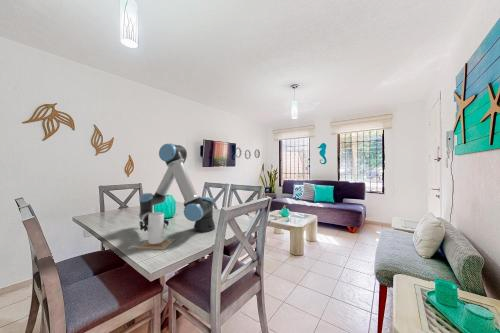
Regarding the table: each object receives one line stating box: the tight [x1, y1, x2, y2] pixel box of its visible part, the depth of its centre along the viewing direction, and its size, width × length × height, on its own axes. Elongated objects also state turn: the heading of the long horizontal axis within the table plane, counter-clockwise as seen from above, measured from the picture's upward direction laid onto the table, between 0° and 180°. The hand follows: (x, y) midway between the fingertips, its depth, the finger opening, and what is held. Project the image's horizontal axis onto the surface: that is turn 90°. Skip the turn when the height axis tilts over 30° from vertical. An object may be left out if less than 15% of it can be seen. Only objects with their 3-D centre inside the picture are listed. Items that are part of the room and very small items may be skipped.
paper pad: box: [135, 238, 175, 250], centre depth 115 cm, size 16×13×1 cm
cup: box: [147, 211, 165, 244], centre depth 115 cm, size 8×8×16 cm
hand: (158, 228), depth 111 cm, fingers closed on cup, 8 cm apart
